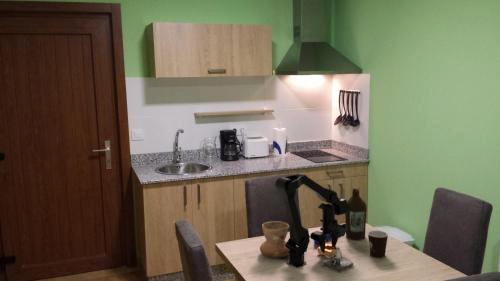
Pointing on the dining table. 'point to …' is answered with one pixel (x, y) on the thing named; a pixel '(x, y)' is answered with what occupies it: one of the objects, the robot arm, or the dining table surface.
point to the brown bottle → (356, 217)
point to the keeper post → (338, 263)
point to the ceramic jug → (275, 239)
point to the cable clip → (326, 238)
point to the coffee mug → (377, 243)
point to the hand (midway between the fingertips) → (328, 250)
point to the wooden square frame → (328, 250)
